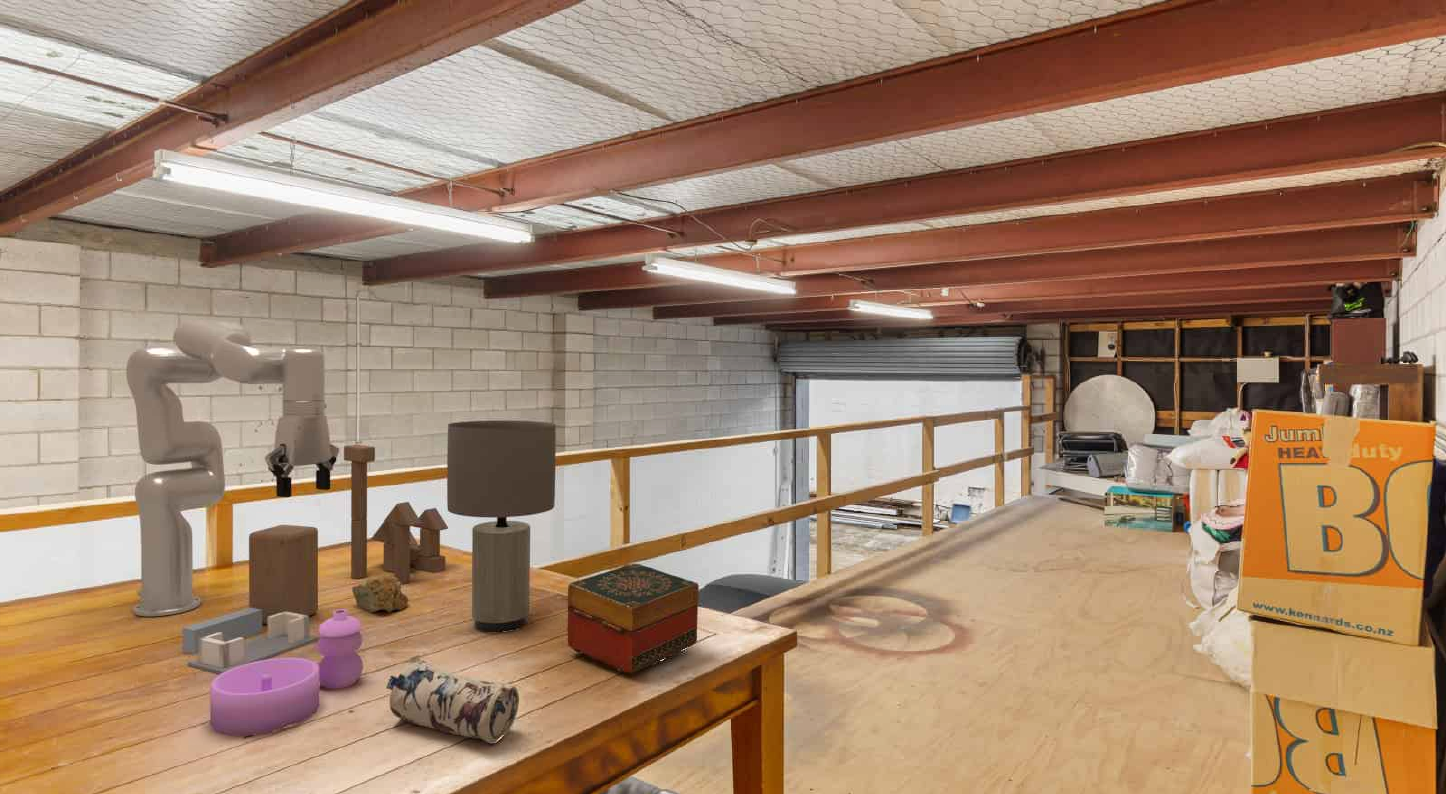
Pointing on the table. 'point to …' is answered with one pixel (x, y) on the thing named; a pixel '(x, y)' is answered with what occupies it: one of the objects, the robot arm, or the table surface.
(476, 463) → the lamp
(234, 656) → the endcap board
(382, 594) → the rock
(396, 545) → the building blocks
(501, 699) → the pencil case
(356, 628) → the container set
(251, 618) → the blue-grey rectangular bar
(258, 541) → the wooden block
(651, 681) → the table surface
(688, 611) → the decorative box
